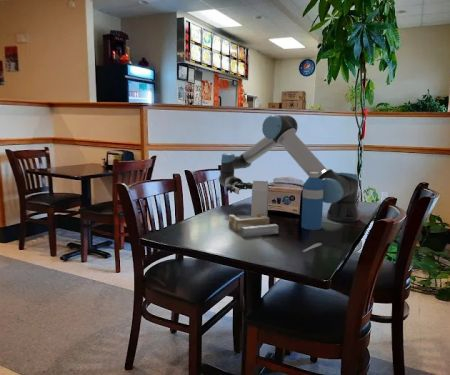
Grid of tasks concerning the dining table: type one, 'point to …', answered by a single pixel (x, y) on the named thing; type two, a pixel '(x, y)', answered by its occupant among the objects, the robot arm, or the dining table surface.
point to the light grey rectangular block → (259, 198)
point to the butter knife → (313, 246)
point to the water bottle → (312, 202)
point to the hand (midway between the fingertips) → (250, 190)
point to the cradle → (247, 221)
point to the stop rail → (259, 230)
